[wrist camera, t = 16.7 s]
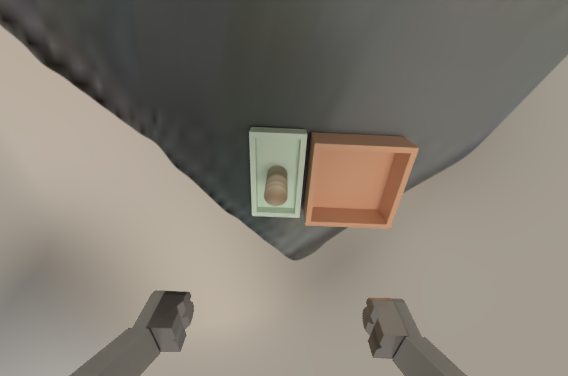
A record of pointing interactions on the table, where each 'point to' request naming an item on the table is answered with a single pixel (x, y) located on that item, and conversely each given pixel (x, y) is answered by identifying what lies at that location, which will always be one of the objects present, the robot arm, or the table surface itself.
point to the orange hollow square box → (356, 179)
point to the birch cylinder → (276, 186)
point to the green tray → (283, 152)
